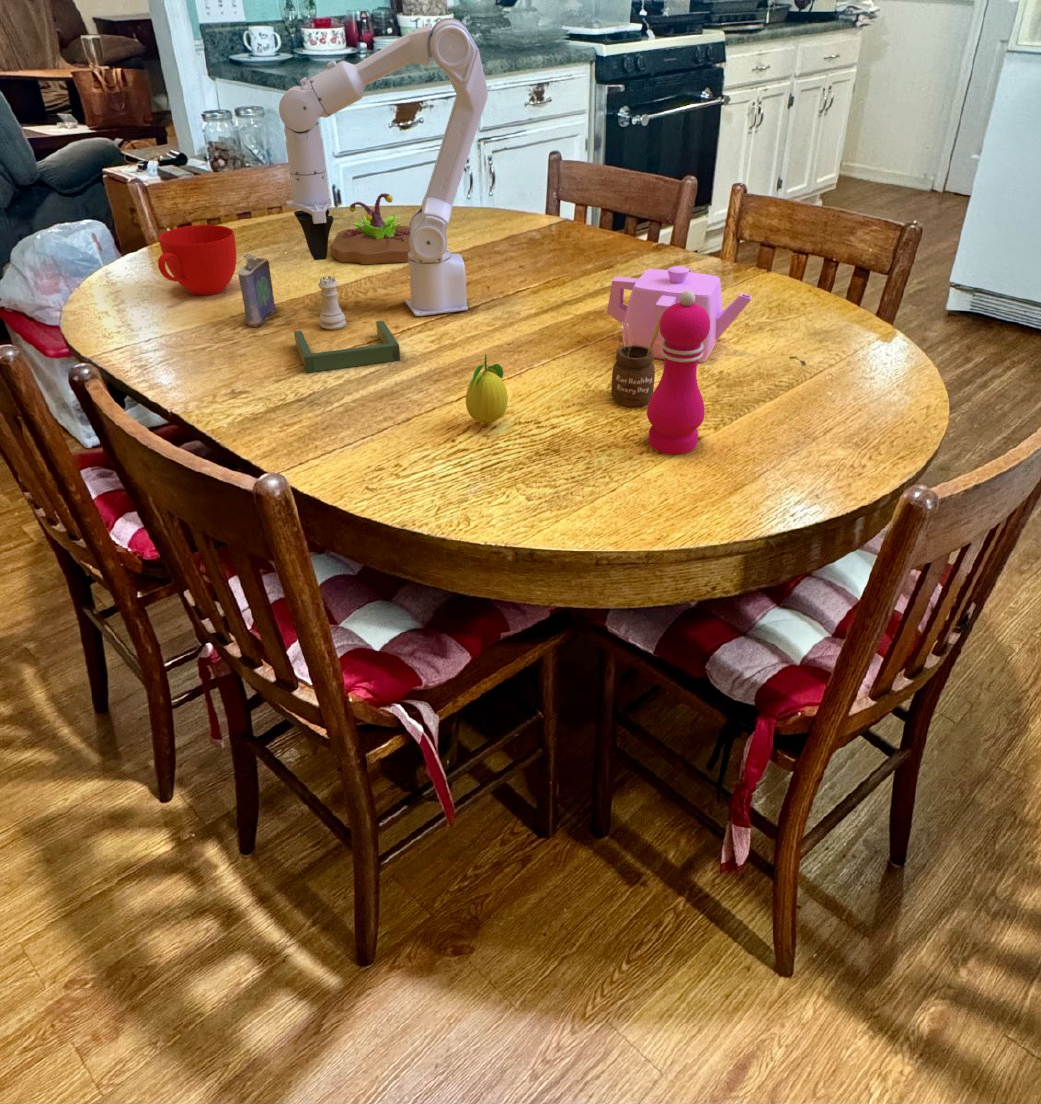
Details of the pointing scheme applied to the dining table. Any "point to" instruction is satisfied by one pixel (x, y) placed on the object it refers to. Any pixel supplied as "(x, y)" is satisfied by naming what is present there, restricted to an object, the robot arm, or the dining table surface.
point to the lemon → (487, 394)
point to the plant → (372, 239)
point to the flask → (256, 290)
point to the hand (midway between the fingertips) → (318, 256)
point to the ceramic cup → (199, 257)
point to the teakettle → (669, 304)
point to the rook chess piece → (330, 305)
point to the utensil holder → (633, 373)
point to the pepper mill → (679, 378)
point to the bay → (349, 353)
